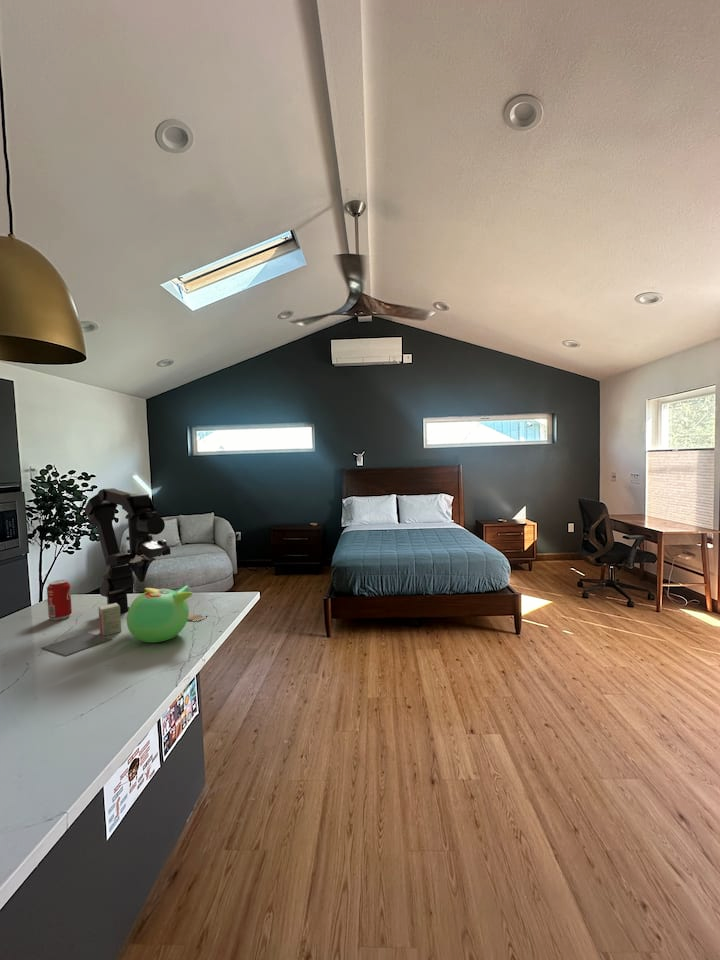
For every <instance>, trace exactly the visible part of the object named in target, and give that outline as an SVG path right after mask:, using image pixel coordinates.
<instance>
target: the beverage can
mask: <svg viewBox="0 0 720 960" xmlns="http://www.w3.org/2000/svg"><path fill="white" fill-rule="evenodd" d="M48 583H49V584H48V586H47V587H46V593H47V594H46V595H47V597H46V598H47V612H48V618H49V619H51V621H60V619H61V620H65V619H68V618H69V617H70V616H71V615H72V613H73V612H72V595H71V594H72V593H71V584H70V583H69V582H68V580H67V579H57V580H53V581H50V582H48ZM67 617H68V618H67Z"/></svg>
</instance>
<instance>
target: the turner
mask: <svg viewBox="0 0 720 960" xmlns="http://www.w3.org/2000/svg"><path fill="white" fill-rule="evenodd" d="M201 615H202V614H197V613H196V614H195V613H193V614H192V613H190V614H189V615H188V620H196V621H197V620H198V621H199V620H201V619H202V618H203V616H201ZM196 621H195V622H196ZM201 621H202V620H201Z"/></svg>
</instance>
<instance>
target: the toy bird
mask: <svg viewBox="0 0 720 960" xmlns="http://www.w3.org/2000/svg"><path fill="white" fill-rule="evenodd" d="M144 590H145V591H144V592H142V594H139V595H138V596H137V597H136V598H135V599H134V600H133V601H132V602H131V604H130V606H129V607H130V608H129V610H128V611H127V615H126V625H127V629H128V631H129V633H130V635H132V636H133V637H134V638H135V639H137V640H139V641H141V642H145V643H150V644H151V643H153V644H154V643H161V642H162V643H163V642H166V641H168V640H171V639H173V638H174V637H176V636H177V635H179V634H180V633H181V632H182V631H183V629H184V628H185V626H186V624H187V623H188V621H187V620H188V616H189V615H190V614H189V613H190V612H189V611H190V610H189V605H188V602H187V601H188V600H187V599H189V598H190V597H191V596H193V592H191V591H189V590H190V587H189V585H184V586H183V587H181V588H179V589H178V590H173V589H169V588H161V587H160V588H154V587H153V588H152V587H144Z"/></svg>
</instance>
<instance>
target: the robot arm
mask: <svg viewBox="0 0 720 960" xmlns="http://www.w3.org/2000/svg"><path fill="white" fill-rule="evenodd" d="M118 505H119V506H121V510H124V511H125V512H126V513H127V514H126V515H125V517H124V518H125V520H127V523H128V527H127V528H128V536H126V538H125V539H126V541H128V545H129V549H126V552H127V553H121V552H120V548H119V545H118V541H117V537H116V533H115V530H114V529H115V528H114V525H113V521H114V518H115V515H116V509H117V508H118ZM84 512H85V515H86V516H87V518H88V522H90V523H91V524H92V525H93V526H94V527H96V530H97V534H98V539H99V542H100V546H101V550H102V554H103V557H104V561H105V565H106V568H105V570H104V573H103V582H102V584H101V586H100V588H99V594H100V596H102V597H105V598H106V603H107V604H106V605H109V604H113V603H117V604H119V606H120V614H122V613H125V612H128V610H129V608H130V606H129V603H128V592H133V590H134V589H133V588H134V582H135V577H136V579H137V580H138V582H139V583H144V581H145V579H146V576H147V573H148V570H149V567H150V565H151V564H152V563H153V561H156V557H161V556H163V557H164V556H168V555H171V553H172V552H171V551H172V550H171V548H170V546H168V545H167V540H165V539H159V540H158V541H157V540H156V541H154V540H153V535H155V536H157V535H160V534H161V533H162V532H163V531H164V530H165V527H166V524H165V523H166V522H165V521H164V518H163V517H161V516H159V513H158V511H157V507H156V506H155V504H154V502H153V500H152V498H151V496H150V495H149V494H148V493H147V492H141V493H139V492H138V493H131V492H126V491H122V490H119V489H117V488H114V487H113V488H102V489H100V490H99V491H98V493H97V494H96V495H93V496H92V497H91V498H90V499H89V500H88V501H87V503H86V504H85V507H84ZM132 572H133V573H132ZM134 575H135V577H134Z"/></svg>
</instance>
